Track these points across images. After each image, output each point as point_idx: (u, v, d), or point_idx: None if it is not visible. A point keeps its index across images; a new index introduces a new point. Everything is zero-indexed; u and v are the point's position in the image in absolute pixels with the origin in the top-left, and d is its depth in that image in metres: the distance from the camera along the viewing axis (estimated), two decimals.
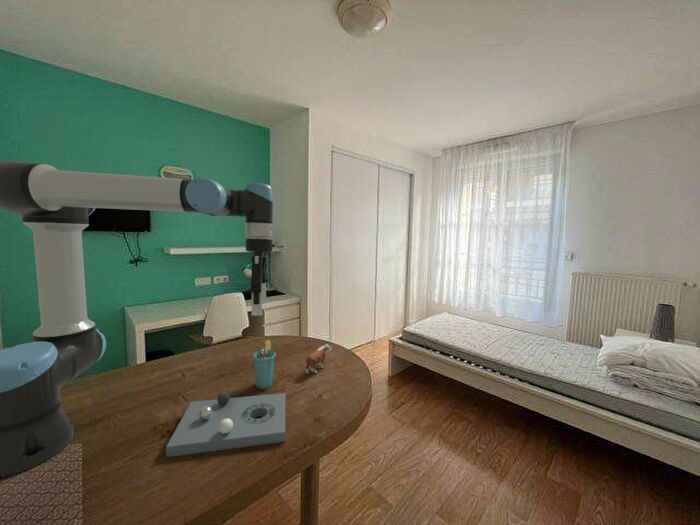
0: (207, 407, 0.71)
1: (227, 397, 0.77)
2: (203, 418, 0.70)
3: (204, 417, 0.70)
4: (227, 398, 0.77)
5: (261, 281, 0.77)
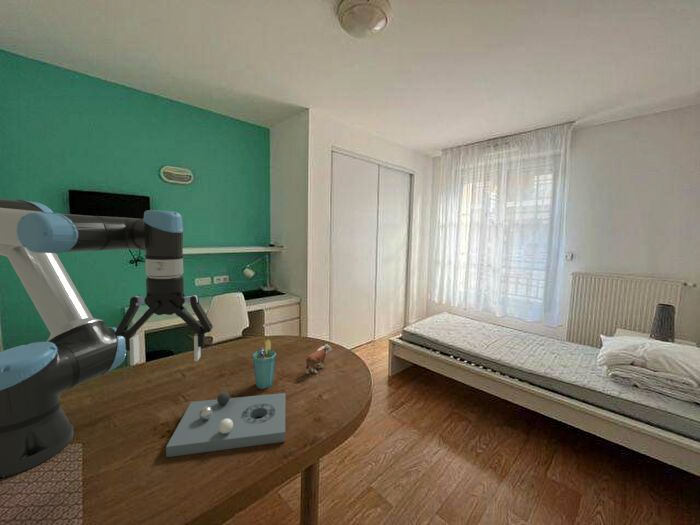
0: (207, 407, 0.71)
1: (227, 397, 0.77)
2: (203, 418, 0.70)
3: (204, 417, 0.70)
4: (227, 398, 0.77)
5: (133, 326, 0.65)
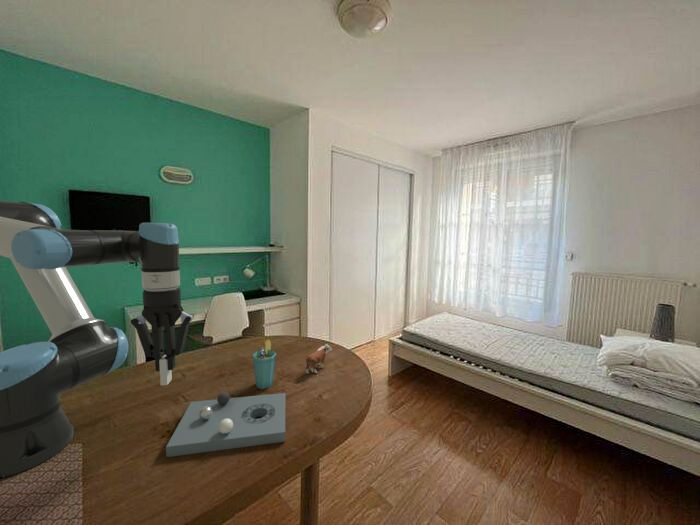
0: (207, 407, 0.71)
1: (227, 397, 0.77)
2: (203, 418, 0.70)
3: (204, 417, 0.70)
4: (227, 398, 0.77)
5: (154, 346, 0.66)
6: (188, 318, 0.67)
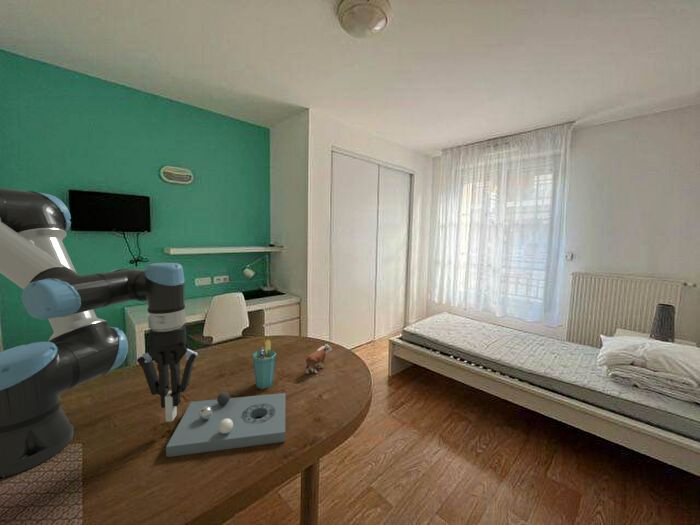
0: (207, 407, 0.71)
1: (227, 397, 0.77)
2: (203, 418, 0.70)
3: (204, 417, 0.70)
4: (227, 398, 0.77)
5: (160, 384, 0.67)
6: (193, 356, 0.68)
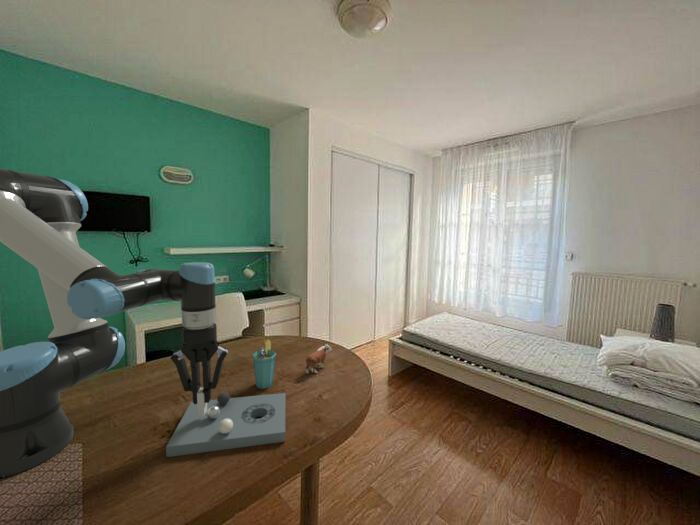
0: (219, 410, 0.72)
1: (227, 397, 0.77)
2: (210, 416, 0.70)
3: (211, 416, 0.70)
4: (227, 398, 0.77)
5: (192, 381, 0.69)
6: (224, 353, 0.70)
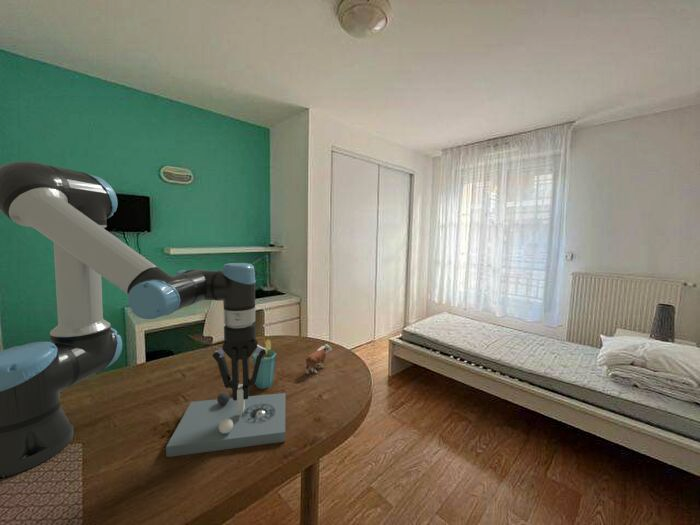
0: None
1: (227, 397, 0.77)
2: None
3: None
4: (227, 398, 0.77)
5: (233, 378, 0.71)
6: (263, 351, 0.72)
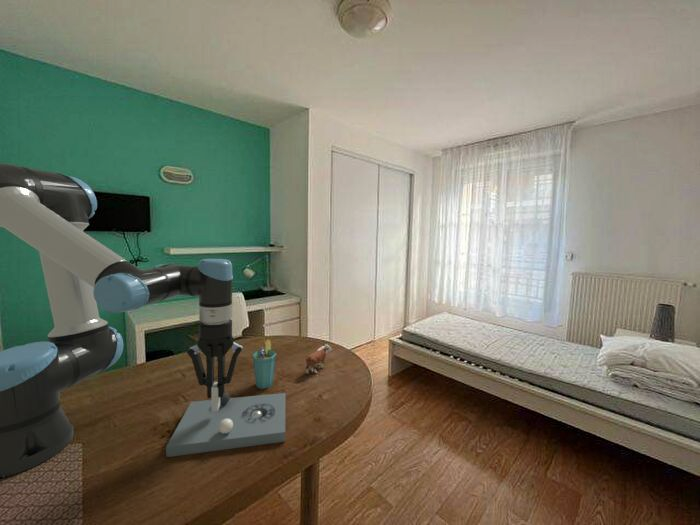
0: None
1: (227, 397, 0.77)
2: None
3: None
4: (227, 398, 0.77)
5: (207, 375, 0.70)
6: (239, 349, 0.71)
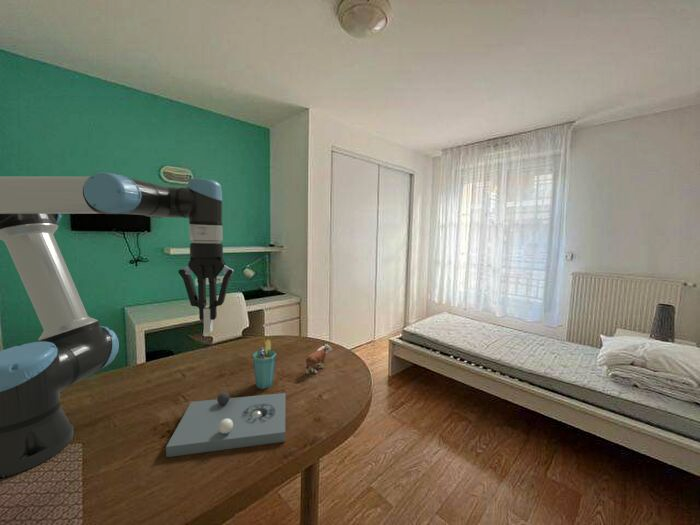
0: None
1: (227, 397, 0.77)
2: None
3: None
4: (227, 398, 0.77)
5: (199, 296, 0.71)
6: (230, 271, 0.72)
